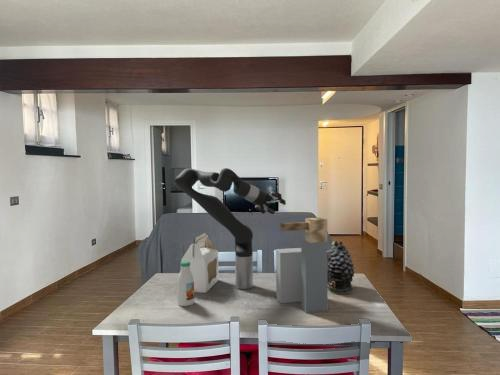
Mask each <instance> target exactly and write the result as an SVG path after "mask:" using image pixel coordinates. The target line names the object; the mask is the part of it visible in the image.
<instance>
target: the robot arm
mask: <svg viewBox="0 0 500 375" xmlns="http://www.w3.org/2000/svg"><path fill="white" fill-rule="evenodd" d="M173 181H174V184H175V185H176V186H177V187H178V188H179V189H180V190H181V191H183V193H185V194H186V195H187V196H189V198H191V199H192V200H193V201H195V203H197V204H198V205H199V206H200V207H201V208H202V209H203V210H204V211H205V212H206V213H207V214H208V215H210V217H211V218H213V219H215V221H216V222H218V223H219V224H220V225H221V226H223V227H224V228H226V229H227V231H229V233H230V234H231V235H232V236H233V237H234V249H235V250H234V252H235V269H234V273H235V274H234V276H235V280H234V281H235V283H234V284H235V288H236V290H238V289H240V290H249V289H252V288H253V287H254V270H253V269H254V267H253V266H254V265H253V264H254V262H253V259H254V258H253V257H254V256H253V241H252V240H253V237H254V235H253V231H252V229H251V227H250V226H249V225H247V224H243V223H242V222H241V221H240V220H239V219H238V218H236V217H235V215H234V214H233V213H232V212H231V210H230V208H228V206H226V204H225V203H223V201H222V200H220V199H219V197H217V196H214V195H210V194H205V193H201V192H198V191H197V190H196V189H194V188H193V186H194V185H195V184H196V183H197V182H200V184H201V185H203V186H204V187H208V188H209V187H210V188H216V189H218V190H219V191H221V192H228V191H230V190H231V188H232V185H233V189H232V191H233V192H234V194H236V195H238V196H239V197H242V198H243V199H245V200H246V201H248V202H250V203H252V204H254V205H255V206H254V208H255V210H257V212H259V213H261V214H265V213H269V214H271V215H274V214H275V212H276V211H275V210H274V209H272V208H271V207H269V206H270V205H271V204H273V203H274V204H275V203H276V202H277V203H280V204H282V205H284V206H285V205H286V204H287V203H286V200H285V199H283V198H282V193H280V192H278V191H275V190H273V189H272V190H270V192H269V193H267V192H266V191H264V190H263V189H261V188H259V187H257V186H255V185H253V184H251V183H248V182H247V181H245V180H243V179H242V178H240V176H239V175H237V173H236V172H234V171H233V170H232V169H230V168H226V167H224V168H222V169H221V170H220V172H215V171H211V172H210V171H209V172H208V171H207V172H206V171H202V170H198V169H194V168H189V167H188V168H187V167H186V168H185V169H183V170H182V171H181V172H180V173H179V174H178V175H177V176H176V177H175V178H174V180H173Z"/></svg>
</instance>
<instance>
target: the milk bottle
mask: <svg viewBox="0 0 500 375" xmlns="http://www.w3.org/2000/svg"><path fill="white" fill-rule="evenodd" d="M179 264H180V265H179V266H180V272H179V274H178V275H177V276H178V277H177V282H176V283H177V304H178V306H180V307H190V306H192V305H194V303H195V292H194V279H193V275H192V273H191V271H190V262H189V261H183V262H182V261H181V262H180V263H179Z"/></svg>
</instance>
